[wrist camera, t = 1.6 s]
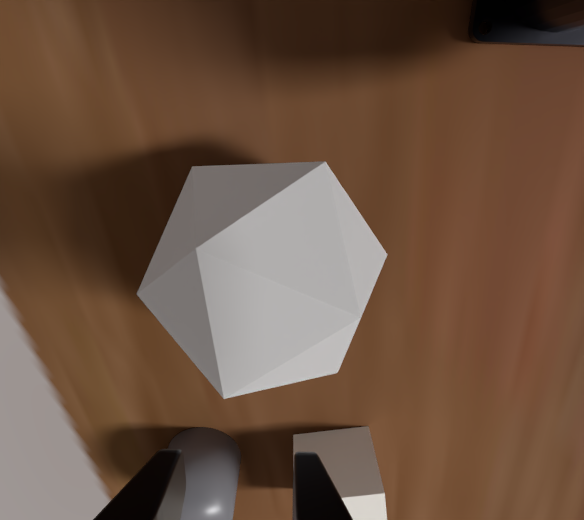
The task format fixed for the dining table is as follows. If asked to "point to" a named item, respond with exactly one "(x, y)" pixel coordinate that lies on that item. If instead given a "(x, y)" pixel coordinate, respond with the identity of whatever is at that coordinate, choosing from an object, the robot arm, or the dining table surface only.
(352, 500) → the cream block
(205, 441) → the grey rounded piece
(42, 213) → the dining table surface
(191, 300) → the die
